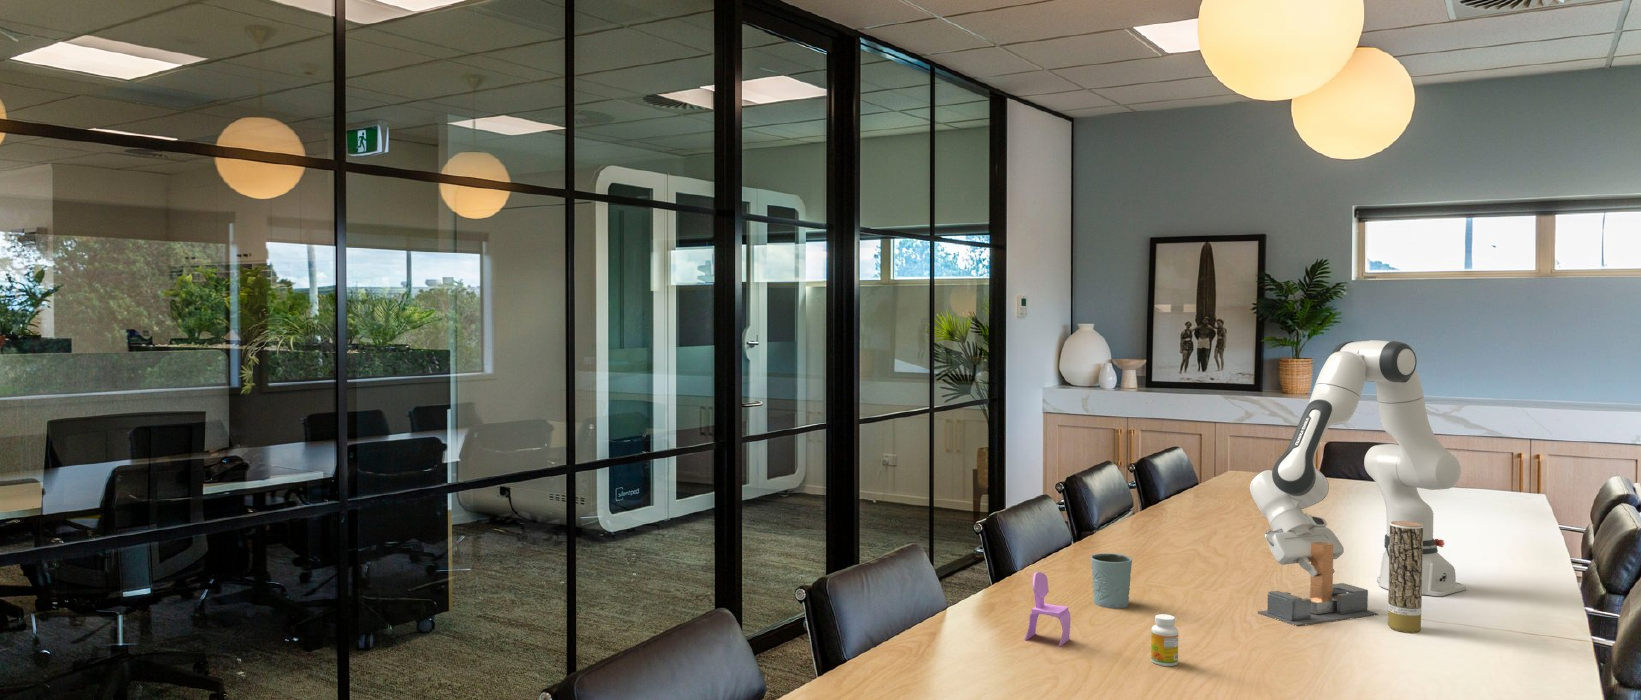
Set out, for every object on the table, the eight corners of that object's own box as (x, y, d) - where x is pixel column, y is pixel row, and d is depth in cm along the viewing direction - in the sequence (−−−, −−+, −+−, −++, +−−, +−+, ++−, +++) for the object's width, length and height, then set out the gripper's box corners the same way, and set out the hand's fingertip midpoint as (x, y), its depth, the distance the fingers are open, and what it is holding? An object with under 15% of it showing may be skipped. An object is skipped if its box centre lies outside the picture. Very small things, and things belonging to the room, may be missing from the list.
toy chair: (1060, 648, 226) (1061, 580, 226) (1022, 641, 231) (1023, 575, 230) (1072, 638, 233) (1073, 573, 233) (1035, 632, 238) (1036, 568, 237)
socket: (1286, 611, 256) (1286, 589, 256) (1310, 619, 249) (1311, 596, 249) (1267, 613, 253) (1267, 591, 253) (1291, 621, 246) (1291, 599, 246)
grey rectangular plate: (1337, 602, 265) (1337, 601, 265) (1378, 614, 254) (1378, 613, 254) (1257, 613, 255) (1257, 611, 255) (1296, 626, 244) (1296, 624, 244)
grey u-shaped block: (1342, 603, 263) (1342, 582, 263) (1367, 611, 256) (1367, 589, 256) (1316, 607, 259) (1316, 586, 259) (1341, 614, 253) (1341, 593, 252)
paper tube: (1425, 634, 238) (1427, 527, 238) (1393, 632, 240) (1395, 525, 239) (1414, 626, 245) (1416, 521, 244) (1383, 624, 246) (1385, 520, 246)
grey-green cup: (1134, 601, 265) (1134, 555, 265) (1128, 611, 256) (1129, 563, 256) (1094, 597, 269) (1094, 551, 269) (1087, 606, 260) (1087, 559, 260)
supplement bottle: (1146, 658, 219) (1147, 613, 219) (1171, 658, 220) (1171, 612, 219) (1157, 666, 214) (1157, 620, 214) (1182, 666, 214) (1182, 620, 214)
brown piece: (1348, 604, 261) (1349, 538, 261) (1360, 608, 258) (1362, 541, 257) (1304, 610, 255) (1305, 543, 255) (1316, 614, 252) (1317, 546, 252)
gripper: (1268, 523, 257) (1299, 571, 248) (1329, 518, 265) (1361, 564, 256) (1254, 538, 261) (1284, 585, 252) (1314, 532, 269) (1345, 578, 260)
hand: (1323, 574), depth 254 cm, fingers closed on brown piece, 3 cm apart
